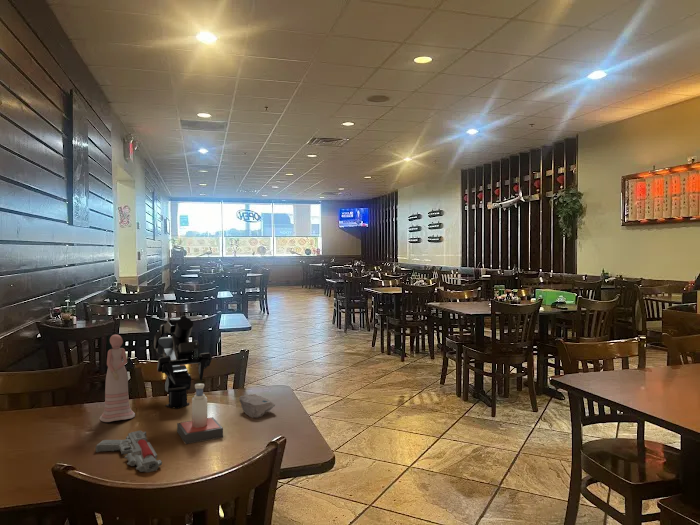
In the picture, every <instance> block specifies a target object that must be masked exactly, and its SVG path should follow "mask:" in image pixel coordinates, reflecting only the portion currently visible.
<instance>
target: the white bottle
mask: <svg viewBox="0 0 700 525" xmlns="http://www.w3.org/2000/svg"><path fill="white" fill-rule="evenodd" d="M194 389H195V394H194V395H193V396H194V397H193V396H192V398H191V421H192V426H193V427H196V428H200V427H205V426H206V425H207V418H208V397H207V396H206V394H205V393H204V389H205V383H199V382H198V383H195V384H194Z"/></svg>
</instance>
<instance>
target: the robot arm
mask: <svg viewBox="0 0 700 525" xmlns="http://www.w3.org/2000/svg"><path fill="white" fill-rule="evenodd" d="M193 326H194V321H193V320H191V319H190V318H189V317H187V315H180V316H179V317H173V318H168V320H167V321H166V323H162V324H160V326H159V330H157V332H156V333H155V334H154V338H153V339H154V340H153V348H154V350H155V351H156V353H157V354H159V355H161V356H162V357H158V361H157V364H156V370H157V372H158V373H161V374H165V375H166V376H167V377H166V380H165V383H164V390H165V392H167V393H168V404H166V405H165V407H167V408H171V409H181V408H183V407H185V406H189V405H190V402H188V394H187V391H188V390H191V383H192V380H193V378H192V377H191V374H190V373H189V370H188V368H187V366H186V365H193V364H194V365H195V364H197V366H198V375H199V380H200V382H202V381H203V379H204V378H203V377H204V371H205V370H206V369H207V368H208V367H210V365H211V362H212V359H213V356H212V354H211V353H210V352H202V353H199V356H198V357H193V356H194V355H195V353H194V352H195V351H197V350H199V348H200V342H199V340H192V341H190V339H189V337H191V334H192V331H193ZM163 334H164V335H166V334H171V335H172V336H163Z"/></svg>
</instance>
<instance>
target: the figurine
mask: <svg viewBox="0 0 700 525" xmlns="http://www.w3.org/2000/svg"><path fill="white" fill-rule="evenodd" d="M123 343H124V340H123V337H122V336H121V335H119V334H112V335H111V336H110V337H109V344H110V345H111V348H110V349H109V350H108V351H107V357H106V367H107V369H106V370H107V371H106V376H105V384H104V385H105V387H104V388H105V390H104V400H105V401H104V410H103V412H102V414H101V415H100V417H99V421H101V422H103V423H111V422H115V421H116V422H117V421H125V420H129V419H130V420H131V419H133V418H135V417H136V413H135V412H134V411H133V410H132V409H131V406H130V400H129V379H128V378H129V377H128V371H127V369H126V366H125V365H126V364H128V358H127V357H128V356H127V354H126V349H125V348H123V347H122V345H123Z"/></svg>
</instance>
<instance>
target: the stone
mask: <svg viewBox="0 0 700 525" xmlns="http://www.w3.org/2000/svg"><path fill="white" fill-rule="evenodd" d="M238 401H239V402H240V404H241V409H242V412H244V413H245V415H246V416H248V417H249V418H251V419H253V418H254V419H255V418H256V419H257V418H261V417H263V415H265V414H266V413H267V412H268V411H271V410H272V409H273V408H274V407H275V406H276V404H274V403H273V402H272V401H271V400H270V399H269V398H266V397H264V396H263V397H262V396H260V395H257V394H256V393H255V394H253V393H250V394H245V395H240V396H239V398H238Z"/></svg>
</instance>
